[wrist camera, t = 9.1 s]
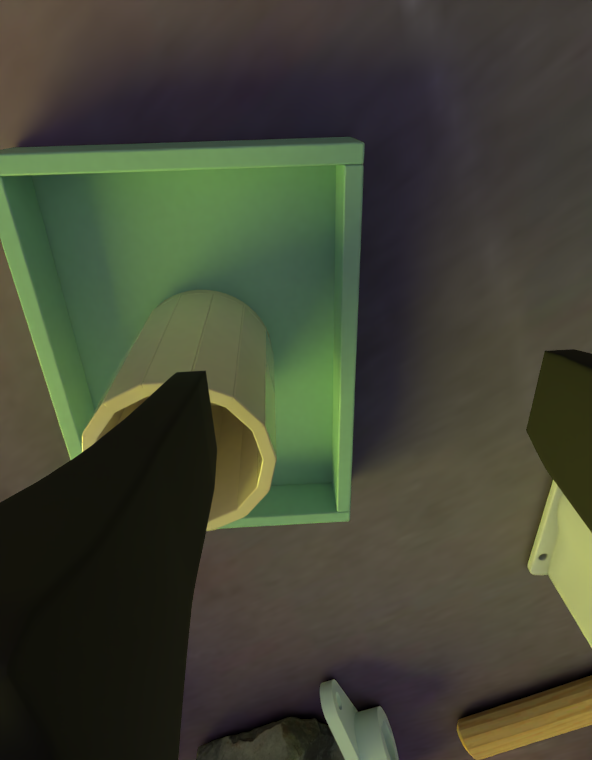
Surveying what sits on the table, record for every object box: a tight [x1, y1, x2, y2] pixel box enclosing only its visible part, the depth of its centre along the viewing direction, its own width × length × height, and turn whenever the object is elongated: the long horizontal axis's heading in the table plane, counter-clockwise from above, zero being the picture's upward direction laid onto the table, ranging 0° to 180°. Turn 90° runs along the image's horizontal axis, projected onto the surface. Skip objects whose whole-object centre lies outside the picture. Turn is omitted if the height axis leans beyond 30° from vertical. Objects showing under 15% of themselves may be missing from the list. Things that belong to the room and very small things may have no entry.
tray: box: [0, 137, 365, 529], centre depth 19 cm, size 15×11×2 cm
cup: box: [82, 290, 277, 531], centre depth 17 cm, size 5×5×7 cm
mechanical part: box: [320, 679, 399, 760], centre depth 32 cm, size 8×2×4 cm, turn 23°
